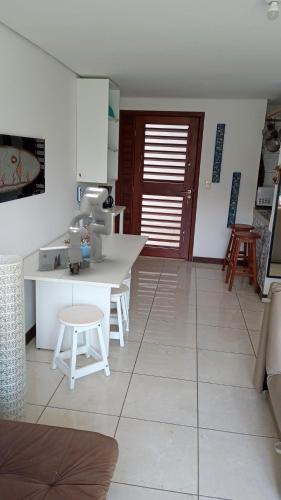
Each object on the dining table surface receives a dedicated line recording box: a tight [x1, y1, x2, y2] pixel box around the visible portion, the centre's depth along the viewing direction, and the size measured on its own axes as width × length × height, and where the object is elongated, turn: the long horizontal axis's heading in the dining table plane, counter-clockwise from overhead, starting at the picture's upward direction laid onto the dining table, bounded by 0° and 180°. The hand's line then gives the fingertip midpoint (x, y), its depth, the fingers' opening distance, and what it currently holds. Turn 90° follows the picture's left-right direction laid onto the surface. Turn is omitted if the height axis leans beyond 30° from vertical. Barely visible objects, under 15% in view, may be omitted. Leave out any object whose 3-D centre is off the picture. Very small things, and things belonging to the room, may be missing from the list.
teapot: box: [80, 242, 90, 259], centre depth 314 cm, size 15×15×10 cm
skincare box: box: [37, 245, 69, 272], centre depth 275 cm, size 21×6×16 cm, turn 126°
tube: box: [79, 258, 93, 272], centre depth 283 cm, size 11×11×5 cm
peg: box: [71, 263, 79, 275], centre depth 268 cm, size 4×4×7 cm
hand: (74, 271), depth 269 cm, fingers closed on peg, 4 cm apart
